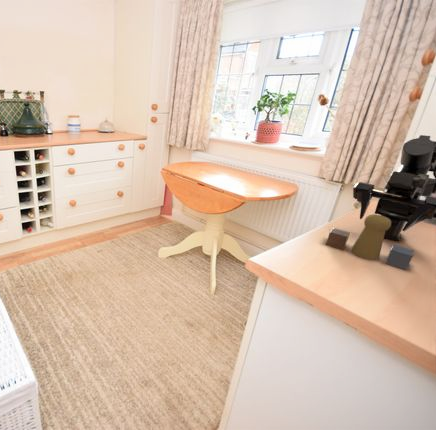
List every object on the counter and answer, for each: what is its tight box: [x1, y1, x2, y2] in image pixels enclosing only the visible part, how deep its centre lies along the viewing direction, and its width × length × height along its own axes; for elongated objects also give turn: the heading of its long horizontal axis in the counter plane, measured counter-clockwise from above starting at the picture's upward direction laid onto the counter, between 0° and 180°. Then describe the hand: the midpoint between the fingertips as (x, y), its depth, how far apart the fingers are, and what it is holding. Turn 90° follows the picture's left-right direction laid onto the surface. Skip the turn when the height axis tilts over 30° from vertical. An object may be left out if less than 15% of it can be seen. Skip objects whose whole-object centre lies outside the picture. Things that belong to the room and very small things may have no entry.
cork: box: [350, 214, 391, 261], centre depth 76 cm, size 6×6×11 cm
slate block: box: [384, 244, 415, 271], centre depth 73 cm, size 4×4×4 cm
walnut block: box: [325, 227, 351, 250], centre depth 82 cm, size 4×4×4 cm
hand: (381, 223), depth 78 cm, fingers open, 9 cm apart
